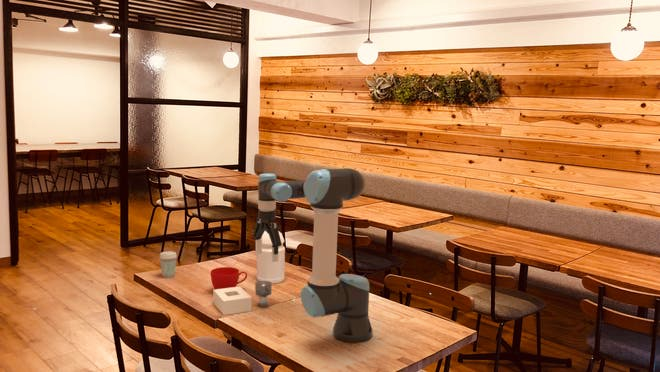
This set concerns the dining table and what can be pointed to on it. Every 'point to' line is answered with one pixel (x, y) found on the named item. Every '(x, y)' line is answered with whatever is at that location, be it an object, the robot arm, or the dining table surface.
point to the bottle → (270, 261)
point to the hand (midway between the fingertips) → (266, 257)
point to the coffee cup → (168, 263)
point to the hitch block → (232, 300)
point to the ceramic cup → (225, 277)
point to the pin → (263, 292)
